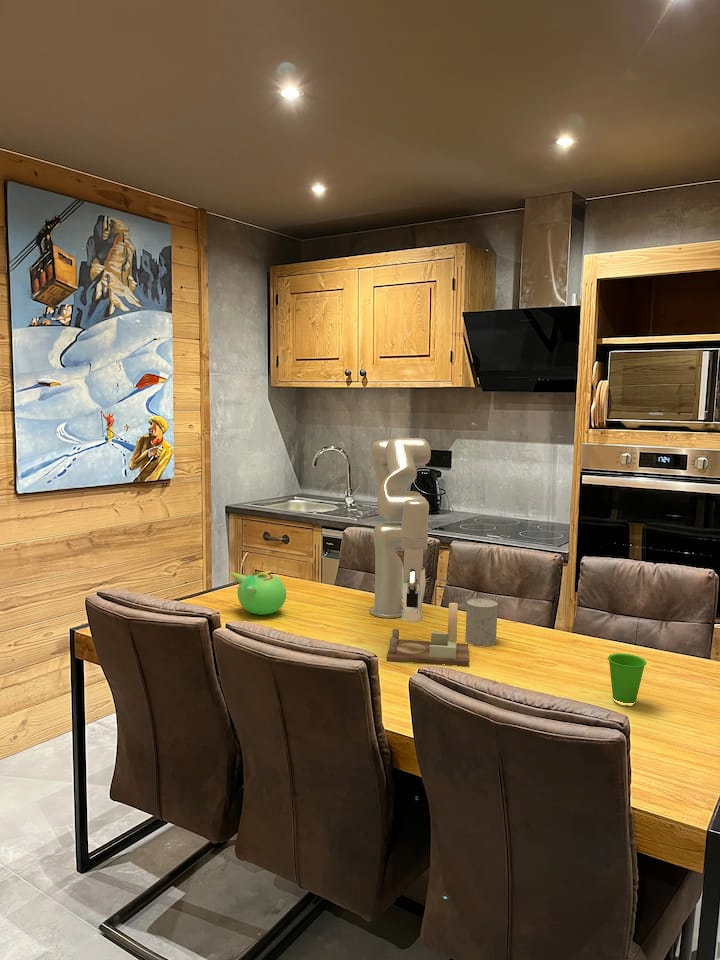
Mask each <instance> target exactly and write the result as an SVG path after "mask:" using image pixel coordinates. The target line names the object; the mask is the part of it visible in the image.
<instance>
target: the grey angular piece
mask: <svg viewBox="0 0 720 960" xmlns="http://www.w3.org/2000/svg"><path fill="white" fill-rule="evenodd" d="M458 610H459V604H458V603H457V602H449V603H448V618H447V619H448V622H447V632H441V631H440V632H439V631H431V633H430V641H431V644H442V645H430V654H429V657H432V658H448V659H456V643H457V641H458V640H457V639H458V615H459V614H458V613H459V612H458ZM443 645H448V646H443Z"/></svg>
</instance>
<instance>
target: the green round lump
mask: <svg viewBox="0 0 720 960" xmlns="http://www.w3.org/2000/svg"><path fill="white" fill-rule="evenodd" d="M271 572H272V570H266V571H262V572H255V573H252V574H250V575H244V574H241V573H237V572H230V573H229V574H230V576H231V577H232V578H234V579H235V580H237V582H239V585H238V587H237V593H236V594H237V599H238V601H239V604H240V605H241V606H242V607H243V609H244V610H246V611H247V612H248V613H251V614H253V615H257V616H259V615H260V616H267V615H271V614H273V613H275V612H277V611H279V610H280V609H281V608H282V607H283V605H284V604H285V603H286V599H287V590H286V586H285V584H284V582H283V581H282V580H281V579H280V578H279V577H278V576H276V575H274V574H272V573H271Z"/></svg>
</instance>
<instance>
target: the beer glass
mask: <svg viewBox="0 0 720 960" xmlns="http://www.w3.org/2000/svg"><path fill="white" fill-rule="evenodd" d="M403 569H404V566H403V567H402V576H401V590H402V607H403V613H402V617H401V619H402V620H403V621H406V622H411V623H415V622H416V623H417V622H421V621H423V618H424V617H423V609H422V608H423V600H424V596H425V590H426V568H425V567H423V566H422V570H421V579H420V583H419V584H418V585H417V593H418V607H417V608H414V607H407V606H406V600H407V589H408V581H407V582H405V583H403ZM409 582H410V579H409ZM414 583H416V580H415V579H414ZM414 586H415V585H414Z"/></svg>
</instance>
